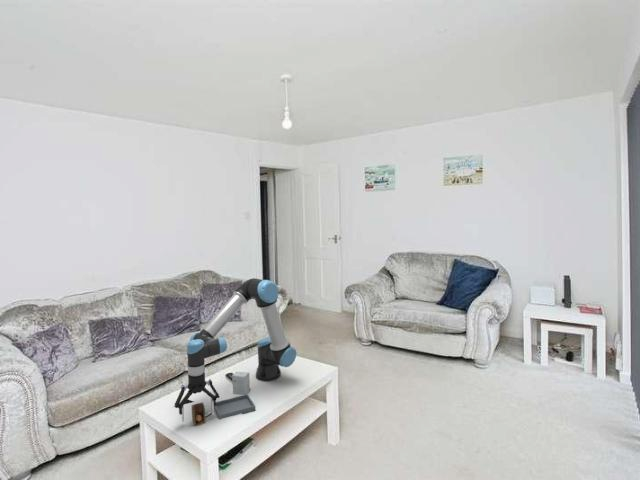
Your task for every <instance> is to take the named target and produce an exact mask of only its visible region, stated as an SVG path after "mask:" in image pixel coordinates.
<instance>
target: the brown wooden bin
mask: <svg viewBox="0 0 640 480" xmlns="http://www.w3.org/2000/svg"><path fill="white" fill-rule="evenodd" d="M197 415H201V416H202V420H201V421H200V422H197V421H196V419H195V418H196V416H197ZM191 419H192V423H193V427H197V426H198V427H199V426H201V425H204V424H206V421H207V420H206V406H205V405H204V402H199V403H195V404H194V403H193V404H192V405H191Z"/></svg>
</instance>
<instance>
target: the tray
mask: <svg viewBox="0 0 640 480" xmlns="http://www.w3.org/2000/svg"><path fill="white" fill-rule="evenodd" d="M256 410H257V409H256V405H255V403H254V401H253V400H252V398H251V397H250V395H249V394H248V393H247V394H246V395H242V394H241V395H239V396H235V397H230V398H227V399H223V400H219V401H216V406H214V412H215V414H216V415H217V418H218V419H219V420H222V419H225V418H226V419H227V418H230V417H234V416H237V415H240V414H241V415H245V414H249V413H253V412H255V411H256Z"/></svg>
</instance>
